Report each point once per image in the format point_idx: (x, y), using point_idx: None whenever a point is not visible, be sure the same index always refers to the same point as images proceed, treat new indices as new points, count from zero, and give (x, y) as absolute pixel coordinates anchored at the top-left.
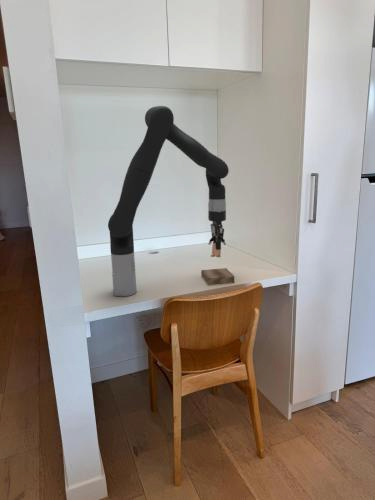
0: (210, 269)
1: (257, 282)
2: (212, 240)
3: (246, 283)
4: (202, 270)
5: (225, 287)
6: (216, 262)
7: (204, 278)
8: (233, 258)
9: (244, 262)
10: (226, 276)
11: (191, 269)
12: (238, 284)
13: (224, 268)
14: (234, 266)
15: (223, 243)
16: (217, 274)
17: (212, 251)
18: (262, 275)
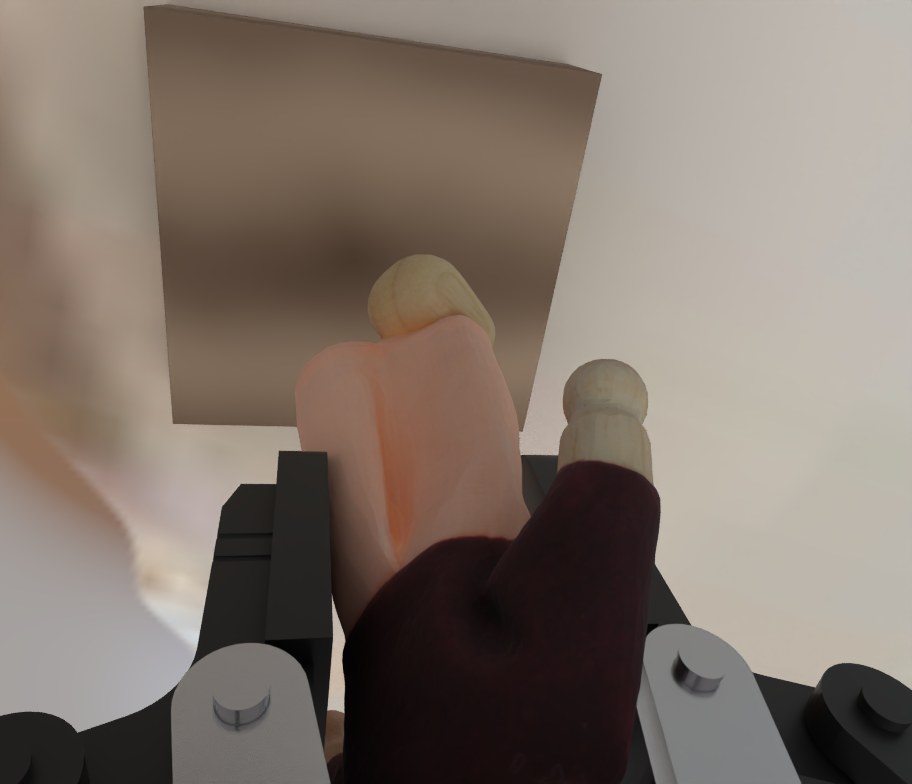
0: (563, 225)
1: (146, 579)
2: (509, 565)
3: (136, 485)
4: (578, 87)
5: (26, 223)
6: (901, 417)
7: (376, 37)
8: (885, 583)
9: (730, 629)
10: (185, 330)
11: (898, 33)
12: (118, 402)
13: (518, 408)
14: (684, 531)
15: (340, 735)
16: (309, 242)
17: (458, 351)
18: (334, 660)
